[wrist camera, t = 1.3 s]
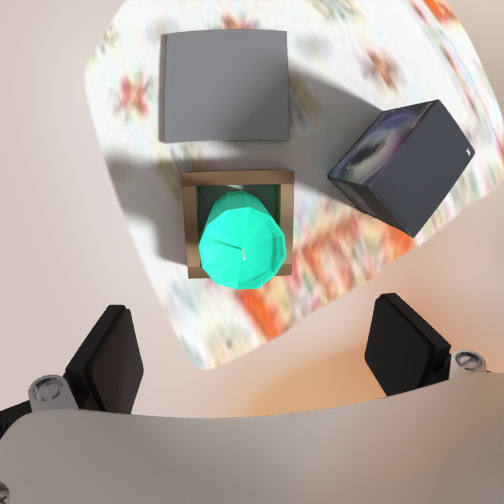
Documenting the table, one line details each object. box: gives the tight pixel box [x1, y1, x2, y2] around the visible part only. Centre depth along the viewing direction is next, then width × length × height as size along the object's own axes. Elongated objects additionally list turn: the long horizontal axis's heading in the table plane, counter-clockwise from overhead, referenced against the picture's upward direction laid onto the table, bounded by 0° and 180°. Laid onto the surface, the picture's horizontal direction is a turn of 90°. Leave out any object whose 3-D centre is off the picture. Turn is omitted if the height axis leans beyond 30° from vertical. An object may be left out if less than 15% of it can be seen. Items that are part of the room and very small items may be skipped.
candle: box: [199, 190, 286, 289], centre depth 24 cm, size 6×6×12 cm
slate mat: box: [165, 29, 289, 143], centre depth 25 cm, size 12×12×1 cm
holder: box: [182, 170, 294, 279], centre depth 29 cm, size 10×10×3 cm
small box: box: [327, 99, 475, 238], centre depth 24 cm, size 11×6×10 cm, turn 140°
